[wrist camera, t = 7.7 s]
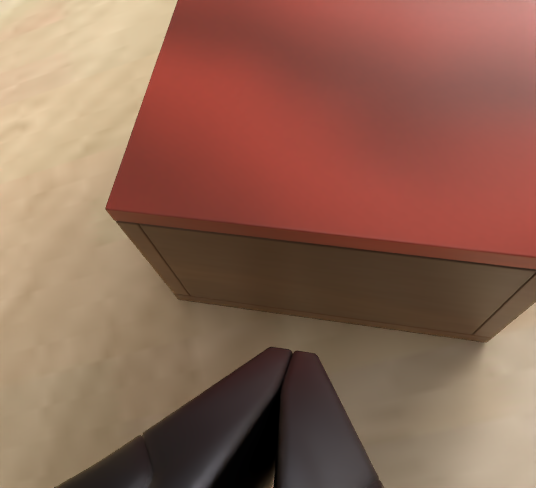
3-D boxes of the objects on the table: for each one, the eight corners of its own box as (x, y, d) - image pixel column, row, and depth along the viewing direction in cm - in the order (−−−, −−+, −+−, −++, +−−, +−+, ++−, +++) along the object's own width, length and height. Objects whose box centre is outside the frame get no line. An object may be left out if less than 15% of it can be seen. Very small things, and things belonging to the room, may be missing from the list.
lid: (206, -54, 22) (202, -73, 21) (545, -47, 19) (554, -68, 19) (114, 221, 16) (104, 209, 15) (570, 274, 14) (583, 262, 13)
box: (232, 88, 28) (202, -42, 21) (486, 105, 26) (546, -33, 19) (177, 299, 23) (114, 221, 16) (486, 342, 21) (569, 274, 14)
